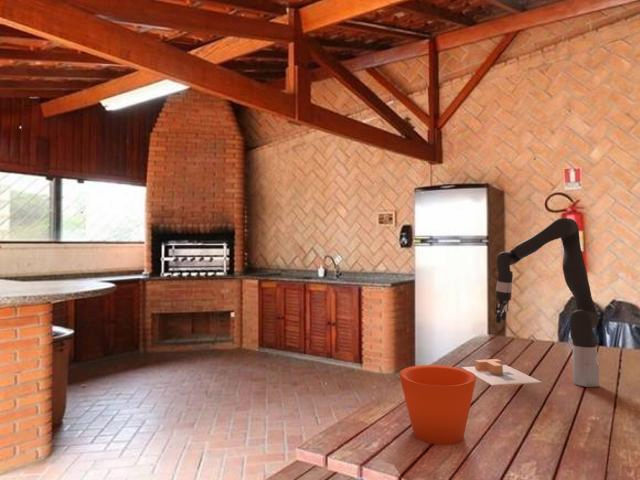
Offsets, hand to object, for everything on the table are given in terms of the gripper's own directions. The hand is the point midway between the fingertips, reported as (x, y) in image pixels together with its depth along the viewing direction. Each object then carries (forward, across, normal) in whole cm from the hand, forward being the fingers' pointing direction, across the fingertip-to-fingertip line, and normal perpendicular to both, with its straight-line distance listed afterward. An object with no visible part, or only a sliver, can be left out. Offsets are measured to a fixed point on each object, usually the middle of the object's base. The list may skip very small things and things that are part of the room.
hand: (500, 321), depth 232 cm
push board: (+22, -17, -6) cm, 29 cm away
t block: (+22, -13, -2) cm, 26 cm away
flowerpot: (+18, -99, -9) cm, 101 cm away
